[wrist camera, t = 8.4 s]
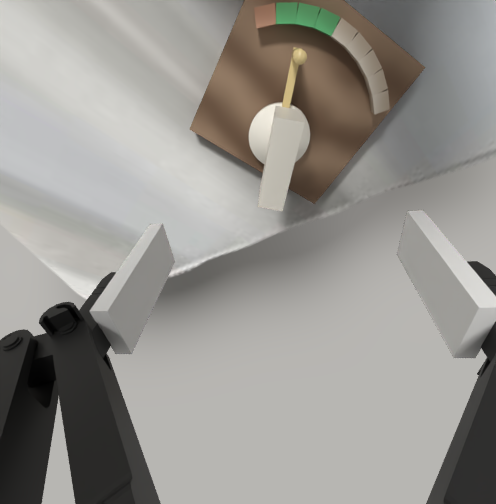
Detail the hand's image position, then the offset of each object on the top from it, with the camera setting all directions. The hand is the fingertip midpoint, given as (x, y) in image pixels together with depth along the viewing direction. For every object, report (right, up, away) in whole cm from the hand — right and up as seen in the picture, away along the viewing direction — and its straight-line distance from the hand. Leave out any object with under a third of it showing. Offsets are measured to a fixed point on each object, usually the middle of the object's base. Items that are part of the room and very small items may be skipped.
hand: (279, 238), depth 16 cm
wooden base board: (+4, +17, +17) cm, 25 cm away
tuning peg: (+2, +15, +16) cm, 22 cm away
